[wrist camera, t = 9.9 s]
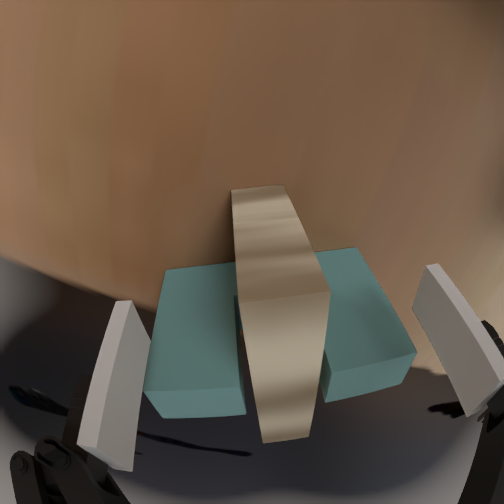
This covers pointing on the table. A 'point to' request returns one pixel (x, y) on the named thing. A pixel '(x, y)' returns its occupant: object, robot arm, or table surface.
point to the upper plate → (279, 309)
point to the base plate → (229, 323)
